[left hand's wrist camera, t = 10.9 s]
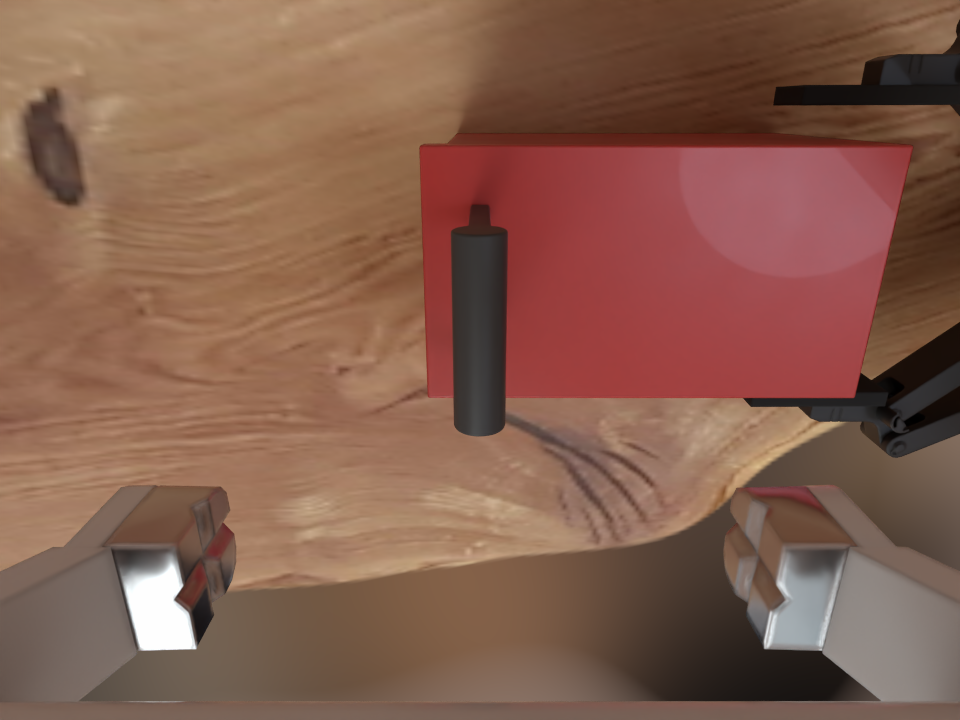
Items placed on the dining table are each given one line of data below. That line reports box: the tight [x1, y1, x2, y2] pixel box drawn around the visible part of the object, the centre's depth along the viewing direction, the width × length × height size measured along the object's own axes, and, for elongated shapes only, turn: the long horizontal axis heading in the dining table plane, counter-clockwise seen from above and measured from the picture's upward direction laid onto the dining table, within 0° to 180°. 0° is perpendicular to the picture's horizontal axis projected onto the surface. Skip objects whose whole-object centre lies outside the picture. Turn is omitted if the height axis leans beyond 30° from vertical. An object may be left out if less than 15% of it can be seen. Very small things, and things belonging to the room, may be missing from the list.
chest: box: [448, 133, 883, 144], centre depth 31 cm, size 17×10×10 cm, turn 90°
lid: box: [419, 143, 913, 436], centre depth 22 cm, size 18×10×8 cm, turn 90°
